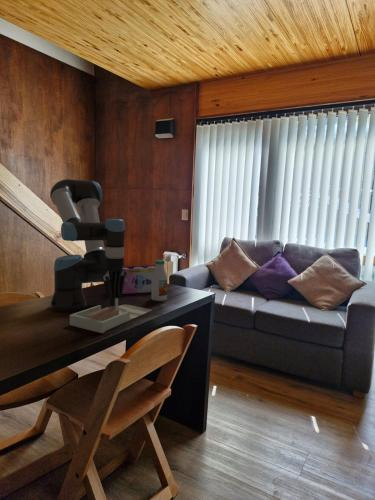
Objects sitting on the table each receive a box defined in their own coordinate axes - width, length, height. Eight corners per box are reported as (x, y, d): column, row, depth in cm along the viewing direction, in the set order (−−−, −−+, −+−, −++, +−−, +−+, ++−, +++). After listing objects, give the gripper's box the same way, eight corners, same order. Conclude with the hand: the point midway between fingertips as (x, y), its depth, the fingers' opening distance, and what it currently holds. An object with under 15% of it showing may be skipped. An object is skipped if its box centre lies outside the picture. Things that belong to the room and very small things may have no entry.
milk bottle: (152, 301, 170) (153, 261, 167) (150, 297, 177) (151, 259, 175) (168, 301, 172) (169, 261, 169) (164, 297, 179) (166, 259, 177)
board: (124, 305, 162) (124, 304, 162) (152, 310, 155) (152, 309, 155) (99, 314, 147) (99, 313, 147) (129, 321, 140) (129, 320, 140)
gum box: (156, 288, 198) (157, 265, 197) (160, 291, 191) (161, 267, 190) (114, 291, 189) (114, 266, 187) (117, 294, 182) (118, 269, 180)
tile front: (97, 320, 139) (97, 310, 139) (108, 322, 136) (109, 313, 136) (86, 324, 134) (86, 314, 133) (98, 327, 131) (98, 317, 131)
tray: (98, 314, 147) (98, 305, 147) (129, 321, 140) (130, 311, 139) (69, 324, 133) (69, 314, 133) (102, 333, 126) (102, 322, 125)
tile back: (107, 316, 144) (107, 307, 144) (118, 318, 142) (119, 309, 141) (97, 320, 139) (97, 310, 139) (109, 323, 136) (109, 313, 136)
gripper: (117, 254, 148) (117, 308, 151) (96, 257, 137) (96, 315, 140) (131, 256, 145) (131, 310, 147) (111, 259, 133) (110, 319, 136)
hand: (114, 313), depth 143 cm, fingers closed
